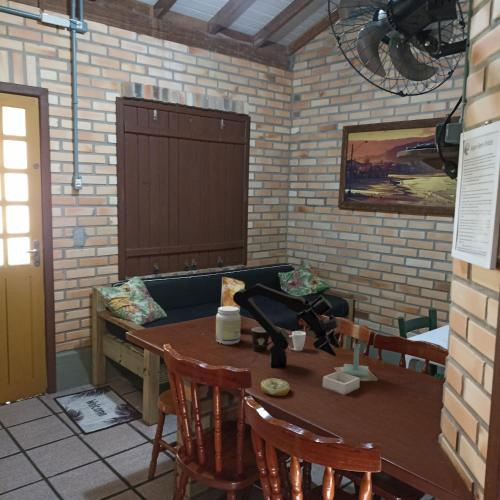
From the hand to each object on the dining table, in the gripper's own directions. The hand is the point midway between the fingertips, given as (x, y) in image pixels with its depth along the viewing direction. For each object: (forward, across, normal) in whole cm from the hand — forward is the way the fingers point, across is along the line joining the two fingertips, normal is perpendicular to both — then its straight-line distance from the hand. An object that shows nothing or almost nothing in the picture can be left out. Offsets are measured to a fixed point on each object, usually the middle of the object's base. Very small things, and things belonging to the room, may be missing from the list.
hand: (337, 351), depth 201 cm
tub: (+9, -17, +2) cm, 19 cm away
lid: (+11, 0, 0) cm, 11 cm away
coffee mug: (-17, +14, +34) cm, 41 cm away
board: (+12, 0, 0) cm, 12 cm away
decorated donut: (-7, -30, +18) cm, 36 cm away
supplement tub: (-31, +21, +50) cm, 62 cm away
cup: (-8, +22, +24) cm, 34 cm away
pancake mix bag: (-34, +42, +56) cm, 78 cm away
